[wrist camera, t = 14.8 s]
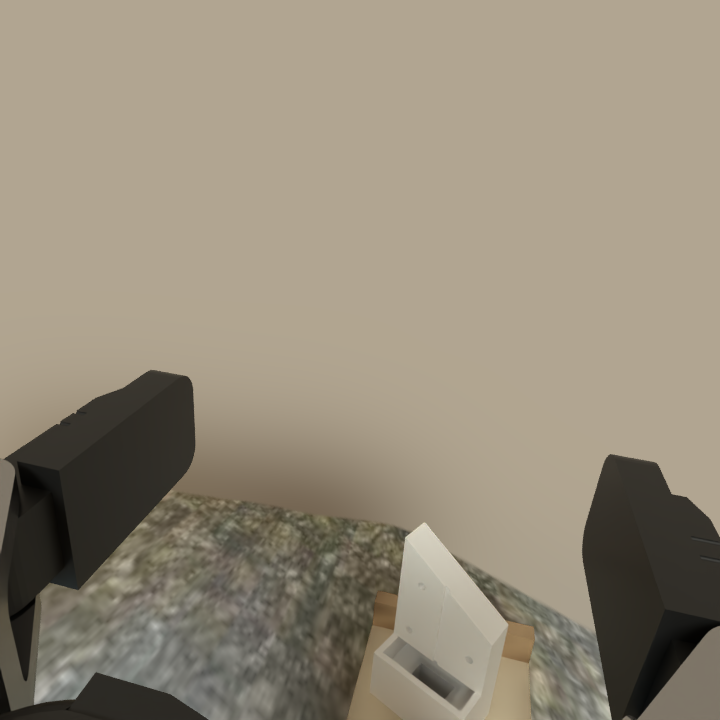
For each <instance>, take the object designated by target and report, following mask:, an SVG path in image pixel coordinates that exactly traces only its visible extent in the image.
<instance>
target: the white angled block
mask: <svg viewBox="0 0 720 720" xmlns="http://www.w3.org/2000/svg"><path fill="white" fill-rule="evenodd" d="M507 629H508V623H507V622H506V621H505V620H504V618H503V617H502V616H501V615H500V613H499V612H498V611H497V610H496V609H495V607H494V606H493V605H492V604H491V602H490V601H489V600H488V599H487V598H486V596H485V595H484V594H483V593H482V591H481V590H480V589H479V588H478V587H477V585H476V584H475V583H474V582H473V580H472V579H471V578H470V577H469V576H468V574H467V573H466V572H465V571H464V569H463V568H462V567H461V566H460V565H459V563H458V562H457V561H456V560H455V558H454V557H453V556H452V555H451V553H450V552H449V551H448V550H447V549H446V547H445V546H444V545H443V544H442V542H441V541H440V540H439V539H438V538H437V536H436V535H435V534H434V533H433V532H432V530H431V529H430V528H429V527H428V525H427V524H426V523H425V522H424V523H423V524H421V525H420V526H419V527H418V528H416V529H415V530H414V531H413V532H411V533H410V534H409V535H408V536H406V537H405V544H404V553H403V561H402V569H401V577H400V585H399V593H398V601H397V609H396V618H395V626H394V633H393V634H392V635H391V636H390V637H389V638H388V639H387V640H386V641H385V642H384V643H383V644H382V645H381V646H380V647H379V648H378V649H377V650H376V651H375V652H374V655H373V665H372V674H371V683H370V693H371V694H372V695H374V696H375V697H376V698H377V699H379V700H380V701H381V702H382V703H383V704H385V705H386V706H387V707H388V708H389V709H391V710H392V711H393V712H394V713H395V714H397V715H398V716H399V717H400V718H401V719H403V720H484V719H485V718H486V716H487V715H488V713H489V709H490V705H491V700H492V696H493V691H494V687H495V683H496V678H497V674H498V669H499V665H500V660H501V656H502V652H503V647H504V643H505V638H506V634H507Z"/></svg>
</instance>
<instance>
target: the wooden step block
mask: <svg viewBox="0 0 720 720" xmlns="http://www.w3.org/2000/svg"><path fill="white" fill-rule="evenodd" d="M397 601H398V595H395V594H391V593H387V592H382V591H378V592H377V596H376V599H375V605H374V615H373V624H372V628H371V632H370V636H369V639H368V643H367V647H366V650H365V654H364V658H363V661H362V665H361V669H360V672H359V676H358V680H357V683H356V687H355V691H354V694H353V698H352V702H351V705H350V709H349V713H348V716H347V720H403V719H401V718H400V717H399V716H398V715H397V714H395V713H394V712H393V711H392V710H391V709H389V708H388V707H387V706H386V705H385V704H383V703H382V702H381V701H380V700H379V699H377V698H376V697H375V696H374V695H372V694H371V693H370V683H371V674H372V665H373V655H374V652H375V651H376V650H377V649H378V648H379V647H380V646H381V645H382V644H383V643H384V642H385V641H386V640H387V639H388V638H389V637H390V636H391V635H392V634H393V633H394V626H395V618H396V609H397ZM505 621H506V620H505ZM506 622H507V623H508V629H507V634H506V638H505V643H504V647H503V652H502V656H501V660H500V665H499V669H498V674H497V678H496V683H495V687H494V691H493V696H492V700H491V705H490V709H489V713H488V715H487V716H486V718H485V719H484V720H531V704H530V682H529V660H530V656H531V652H532V648H533V644H534V640H535V637H534V627H532V626H528V625H523V624H519V623H515V622H510V621H506Z"/></svg>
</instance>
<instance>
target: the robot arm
mask: <svg viewBox="0 0 720 720" xmlns="http://www.w3.org/2000/svg"><path fill="white" fill-rule="evenodd" d="M194 452H195V424H194V402H193V387H192V382H191V380H190V379H189V378H188V377H187V376H183V375H177V374H171V373H166V372H161V371H155V370H150V371H148V372H146V373H145V374H143V375H142V376H140V377H139V378H137V379H136V380H134V381H133V382H131V383H130V384H129V385H127V386H126V387H124V388H123V389H120V390H117V391H114V392H111V393H109V394H106V395H103V396H100V397H97V398H95V399H94V400H92V401H91V402H89V403H88V404H86V405H85V406H83V407H82V408H80V409H79V410H77V413H76V414H74V413H73V414H71V415H70V416H68V417H66V418H65V419H63V420H62V421H61V423H60V425H58V424H56V425H54V426H53V427H51V428H50V429H48V430H47V431H45V432H44V433H42V434H41V435H39V436H38V437H36V438H35V439H33V440H32V441H31V442H29V443H27V444H26V445H25V446H23V447H21V448H20V449H18V450H17V451H15V452H14V453H12V454H11V455H9V456H8V457H6V458H5V459H0V720H208V719H207V718H205V717H204V716H202V715H201V714H199V713H198V712H196V711H195V710H193V709H192V708H190V707H189V706H187V705H186V704H184V703H183V702H181V701H180V700H178V699H177V698H175V697H174V696H172V695H171V694H167V693H164V692H161V691H157V690H154V689H150V688H147V687H144V686H140V685H137V684H134V683H130V682H127V681H123V680H120V679H117V678H113V677H110V676H106V675H103V674H100V673H95V674H94V676H93V677H92V678H91V680H90V681H89V682H88V684H87V685H86V686H85V688H84V689H83V690H82V692H81V693H80V694H79V696H78V697H77V698H76V700H62V701H52V702H45V703H41V704H36V705H34V693H35V681H36V669H37V657H38V645H39V632H40V620H41V599H40V594H39V593H40V592H41V591H42V590H43V589H44V588H45V587H46V586H47V585H48V584H49V583H54V584H57V585H61V586H65V587H69V588H72V589H76V590H79V589H80V588H81V586H82V585H83V584H84V583H85V582H86V581H87V580H88V579H89V578H90V577H91V576H92V575H93V573H94V572H95V571H96V570H97V569H98V568H99V567H100V566H101V565H102V564H103V563H104V561H105V560H106V559H107V558H108V557H109V556H110V555H111V554H112V553H113V552H114V551H115V550H116V548H117V547H118V546H119V545H120V544H121V543H122V542H123V541H124V540H125V539H126V538H127V536H128V535H129V534H130V533H131V532H132V531H133V530H134V529H135V528H136V527H137V526H138V525H139V523H140V522H141V521H142V520H143V519H144V518H145V517H146V516H147V515H148V514H149V513H150V511H151V510H152V509H153V508H154V507H155V506H156V505H157V504H158V503H159V502H160V501H161V500H162V498H163V497H164V496H165V495H166V494H167V493H168V492H169V491H170V490H171V489H172V488H173V486H174V485H175V484H176V483H177V482H178V481H179V480H180V479H181V478H182V477H183V475H184V474H185V473H186V472H187V470H188V469H189V467H190V465H191V462H192V459H193V456H194ZM582 547H583V548H582V555H583V563H584V569H585V575H586V580H587V586H588V591H589V597H590V602H591V608H592V613H593V619H594V624H595V629H596V635H597V641H598V646H599V651H600V657H601V662H602V668H603V673H604V679H605V684H606V690H607V695H608V701H609V706H610V712H611V717H612V720H720V537H719V535H718V533H717V531H716V529H715V527H714V526H713V524H712V522H711V520H710V519H709V518H708V517H707V516H706V515H705V514H704V513H703V512H702V511H701V510H700V509H698V507H696V506H695V505H694V504H693V503H692V502H691V501H690V500H689V499H688V498H687V497H682V496H678V495H672V494H671V492H670V490H669V488H668V485H667V483H666V481H665V479H664V477H663V475H662V472H661V470H660V468H659V466H658V464H657V463H655V462H650V461H644V460H639V459H634V458H628V457H622V456H617V455H611V454H610V455H609V456H608V457H607V458H606V460H605V462H604V465H603V468H602V471H601V474H600V478H599V481H598V484H597V488H596V491H595V494H594V498H593V501H592V505H591V508H590V512H589V515H588V518H587V521H586V525H585V530H584V536H583V546H582Z"/></svg>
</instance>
